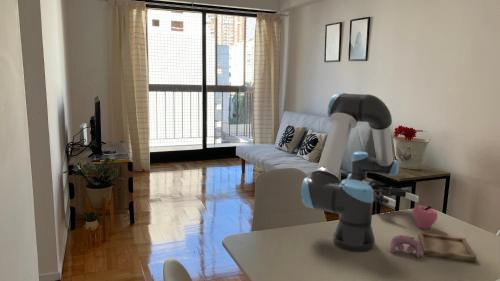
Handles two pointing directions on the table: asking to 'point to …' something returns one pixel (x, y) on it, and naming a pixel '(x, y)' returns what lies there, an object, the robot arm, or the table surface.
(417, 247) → the video game controller
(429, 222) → the apple
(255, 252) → the table surface
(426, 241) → the walnut tray
